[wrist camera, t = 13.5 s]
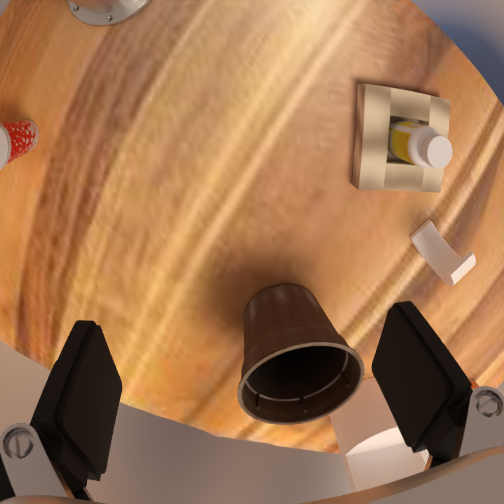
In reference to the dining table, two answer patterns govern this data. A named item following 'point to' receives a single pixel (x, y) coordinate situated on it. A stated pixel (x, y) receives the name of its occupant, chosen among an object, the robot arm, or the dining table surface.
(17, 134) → the beverage cup
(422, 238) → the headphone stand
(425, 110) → the socket block
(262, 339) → the plant pot
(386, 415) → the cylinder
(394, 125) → the supplement bottle
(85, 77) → the dining table surface
